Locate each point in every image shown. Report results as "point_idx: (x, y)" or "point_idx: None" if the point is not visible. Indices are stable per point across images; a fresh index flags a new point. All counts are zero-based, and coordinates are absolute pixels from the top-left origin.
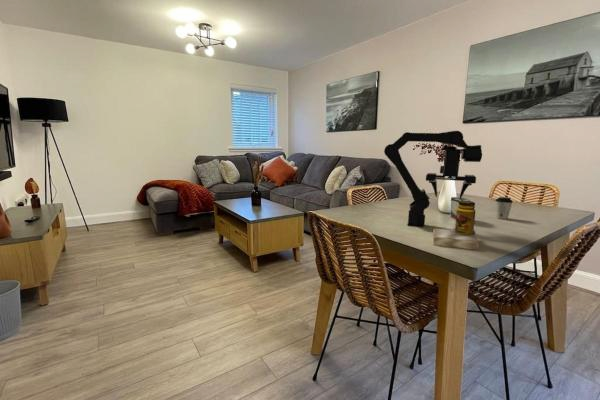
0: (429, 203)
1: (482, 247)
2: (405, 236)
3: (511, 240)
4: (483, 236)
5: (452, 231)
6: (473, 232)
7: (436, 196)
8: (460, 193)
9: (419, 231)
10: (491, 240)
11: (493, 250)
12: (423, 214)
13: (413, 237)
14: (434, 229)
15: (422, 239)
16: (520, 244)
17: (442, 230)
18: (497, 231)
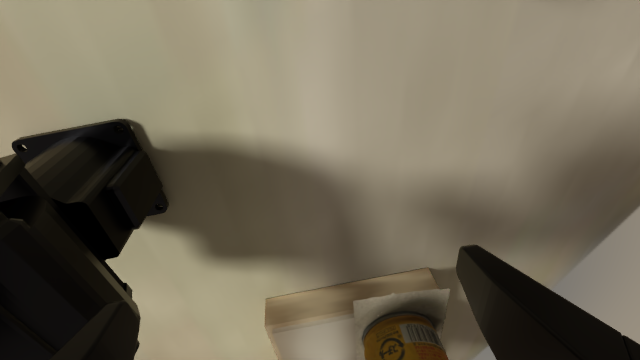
0: (137, 347)
1: (444, 324)
2: (175, 357)
3: (590, 200)
4: (483, 204)
5: (351, 334)
6: (438, 314)
7: (134, 336)
8: (512, 328)
9: (191, 280)
10: (500, 242)
11: (472, 331)
12: (125, 242)
13: (207, 352)
14: (271, 330)
15: (245, 353)
16: (598, 234)
17: (309, 341)
18: (603, 56)
